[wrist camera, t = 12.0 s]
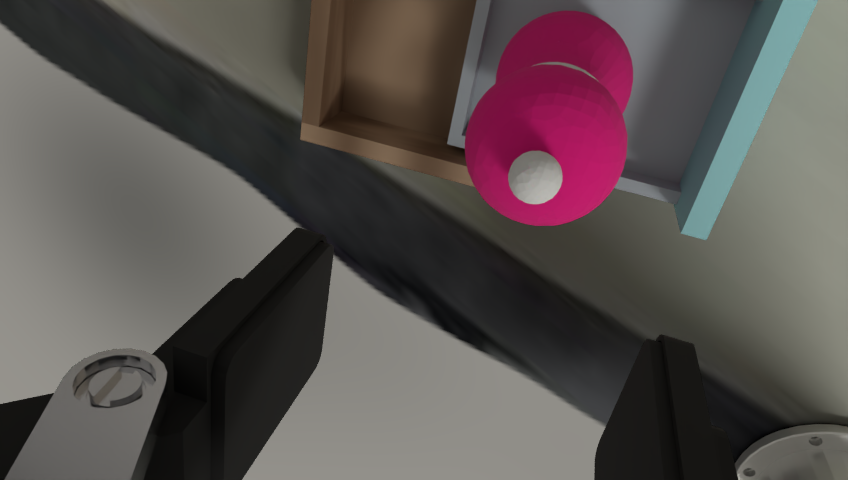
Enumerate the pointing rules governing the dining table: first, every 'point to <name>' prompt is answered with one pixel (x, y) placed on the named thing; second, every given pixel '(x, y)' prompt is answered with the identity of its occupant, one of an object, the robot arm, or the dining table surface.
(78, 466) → the robot arm
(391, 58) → the cubby
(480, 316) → the dining table surface
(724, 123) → the drawer
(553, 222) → the pepper mill
